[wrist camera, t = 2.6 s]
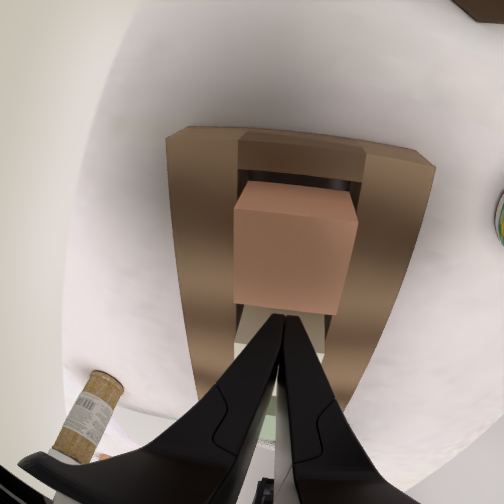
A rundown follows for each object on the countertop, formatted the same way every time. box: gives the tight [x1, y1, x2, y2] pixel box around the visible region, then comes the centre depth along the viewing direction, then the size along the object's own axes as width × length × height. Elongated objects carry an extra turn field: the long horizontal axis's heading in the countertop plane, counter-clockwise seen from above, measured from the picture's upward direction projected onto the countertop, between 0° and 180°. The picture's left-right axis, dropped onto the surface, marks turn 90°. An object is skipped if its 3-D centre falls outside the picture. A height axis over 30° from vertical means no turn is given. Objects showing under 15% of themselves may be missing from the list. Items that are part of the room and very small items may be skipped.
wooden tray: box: [166, 126, 436, 412], centre depth 19 cm, size 22×12×3 cm, turn 178°
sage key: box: [258, 396, 276, 441], centre depth 21 cm, size 4×4×3 cm
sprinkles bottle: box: [48, 371, 123, 465], centre depth 27 cm, size 5×5×14 cm
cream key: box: [234, 305, 325, 396], centre depth 17 cm, size 4×4×3 cm
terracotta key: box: [234, 181, 358, 315], centre depth 13 cm, size 4×4×3 cm
